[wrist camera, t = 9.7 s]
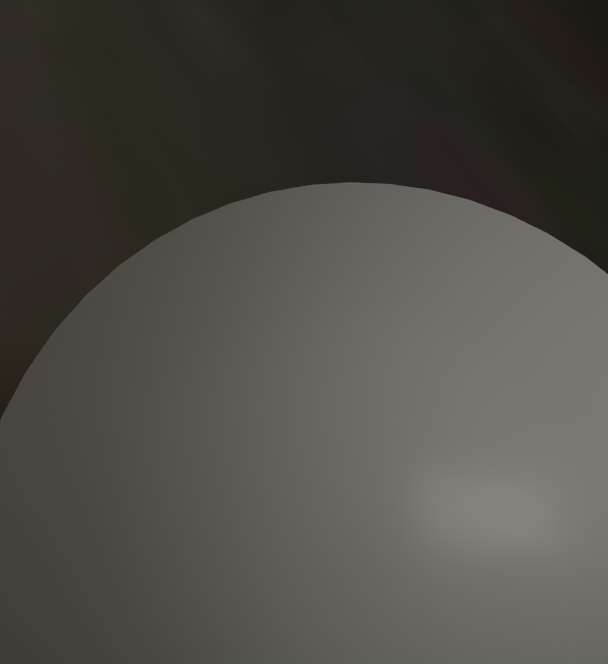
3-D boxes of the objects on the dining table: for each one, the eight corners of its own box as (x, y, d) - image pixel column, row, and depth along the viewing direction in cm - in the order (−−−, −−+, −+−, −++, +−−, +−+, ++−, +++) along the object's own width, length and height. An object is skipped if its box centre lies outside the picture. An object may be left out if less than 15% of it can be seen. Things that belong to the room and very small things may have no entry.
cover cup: (397, 718, 14) (796, 1384, 3) (154, 611, 15) (-248, 815, 4) (461, 461, 17) (795, 302, 6) (253, 383, 18) (186, 111, 6)
